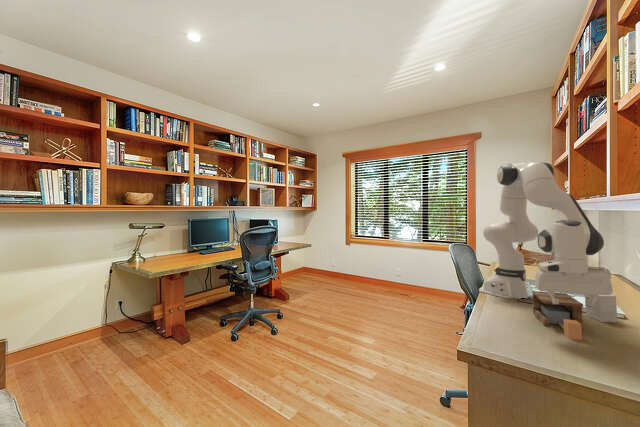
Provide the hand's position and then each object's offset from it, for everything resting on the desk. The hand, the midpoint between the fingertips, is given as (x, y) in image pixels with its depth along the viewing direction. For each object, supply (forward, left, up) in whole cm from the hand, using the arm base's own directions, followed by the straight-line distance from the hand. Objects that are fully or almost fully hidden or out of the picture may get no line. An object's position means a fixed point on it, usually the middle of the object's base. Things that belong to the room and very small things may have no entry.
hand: (572, 305), depth 94 cm
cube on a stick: (-5, +8, -11) cm, 15 cm away
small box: (+3, +29, -12) cm, 32 cm away
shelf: (-7, +12, -11) cm, 18 cm away
